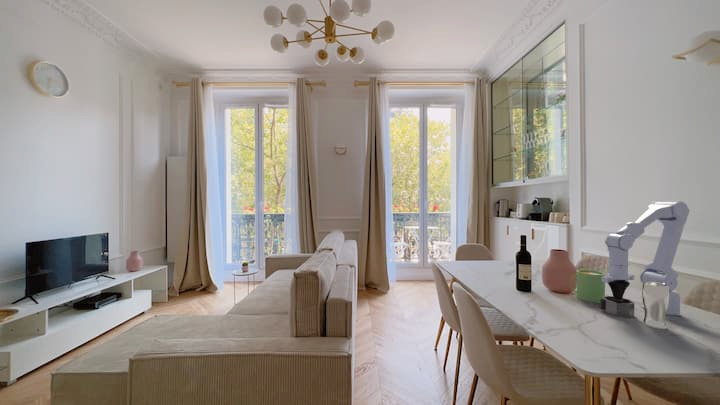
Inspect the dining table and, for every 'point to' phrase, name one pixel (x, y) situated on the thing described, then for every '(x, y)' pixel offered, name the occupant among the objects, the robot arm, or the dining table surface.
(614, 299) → the plunger
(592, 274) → the mug
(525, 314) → the dining table surface
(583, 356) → the dining table surface
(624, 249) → the robot arm
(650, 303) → the beer glass
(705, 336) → the dining table surface
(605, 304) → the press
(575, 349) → the dining table surface
